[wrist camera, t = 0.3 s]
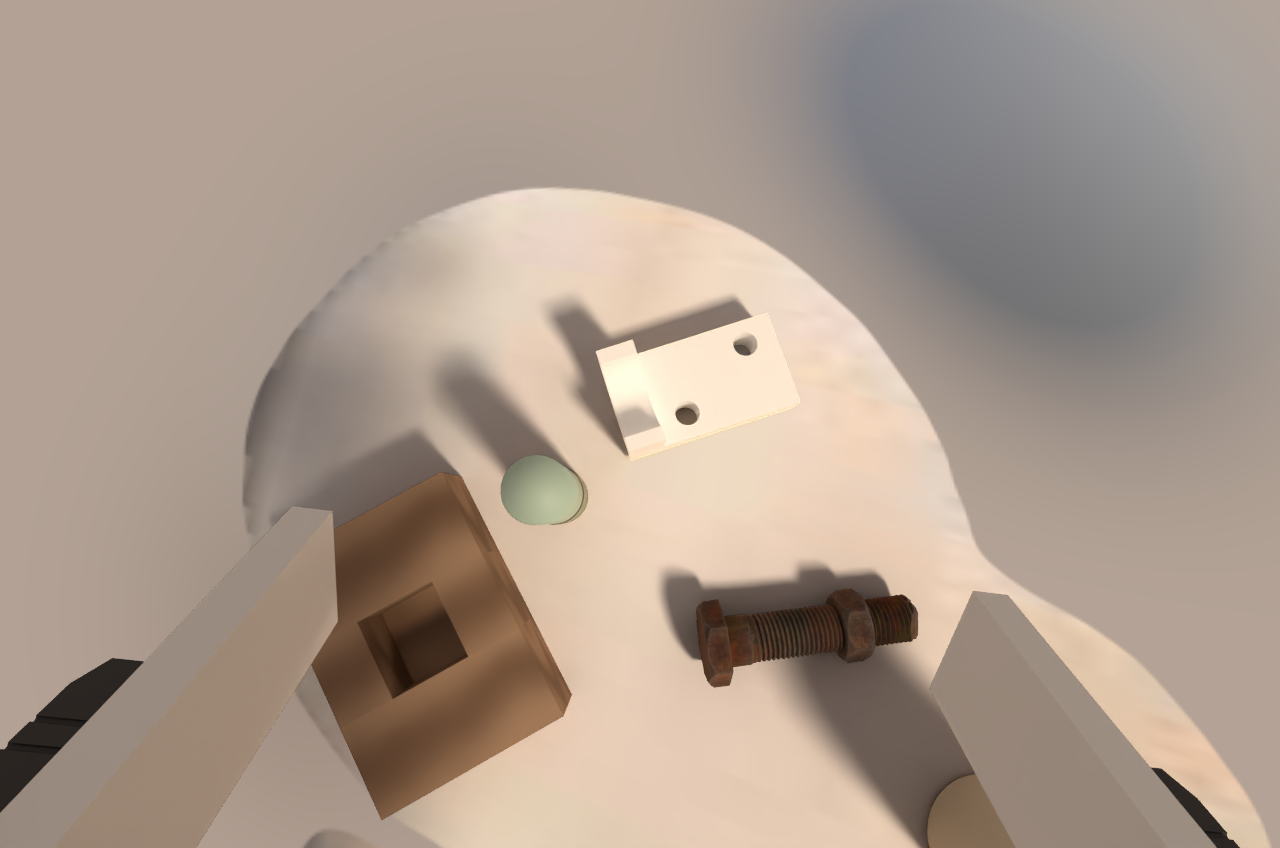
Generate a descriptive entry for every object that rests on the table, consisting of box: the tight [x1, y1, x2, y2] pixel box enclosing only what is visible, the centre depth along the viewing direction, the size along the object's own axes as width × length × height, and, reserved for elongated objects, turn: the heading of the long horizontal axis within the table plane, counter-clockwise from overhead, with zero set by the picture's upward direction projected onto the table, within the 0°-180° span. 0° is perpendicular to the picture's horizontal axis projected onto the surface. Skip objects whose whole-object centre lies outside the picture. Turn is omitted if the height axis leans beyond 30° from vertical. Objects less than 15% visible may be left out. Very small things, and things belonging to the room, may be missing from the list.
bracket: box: [596, 312, 801, 461], centre depth 46 cm, size 13×7×8 cm, turn 108°
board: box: [311, 472, 572, 820], centre depth 44 cm, size 18×13×5 cm
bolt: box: [696, 589, 918, 687], centre depth 45 cm, size 6×5×15 cm
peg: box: [501, 455, 588, 525], centre depth 42 cm, size 4×4×12 cm
